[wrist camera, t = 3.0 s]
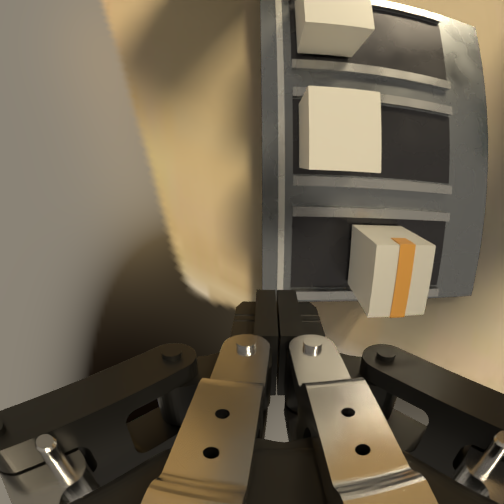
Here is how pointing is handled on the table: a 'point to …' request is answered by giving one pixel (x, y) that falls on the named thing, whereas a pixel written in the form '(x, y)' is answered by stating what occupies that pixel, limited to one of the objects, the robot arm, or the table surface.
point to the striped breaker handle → (390, 270)
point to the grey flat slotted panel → (392, 151)
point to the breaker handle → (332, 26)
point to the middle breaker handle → (340, 129)
